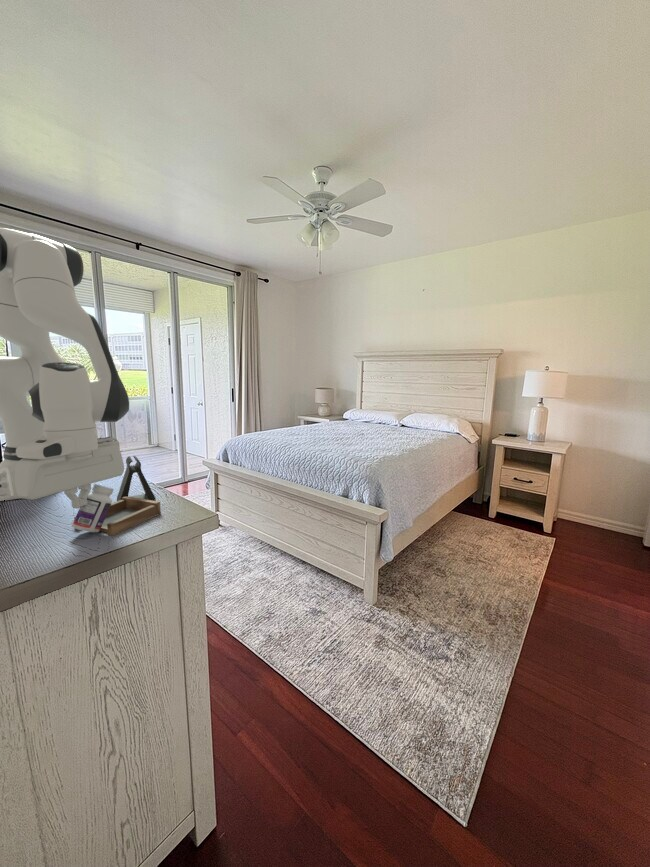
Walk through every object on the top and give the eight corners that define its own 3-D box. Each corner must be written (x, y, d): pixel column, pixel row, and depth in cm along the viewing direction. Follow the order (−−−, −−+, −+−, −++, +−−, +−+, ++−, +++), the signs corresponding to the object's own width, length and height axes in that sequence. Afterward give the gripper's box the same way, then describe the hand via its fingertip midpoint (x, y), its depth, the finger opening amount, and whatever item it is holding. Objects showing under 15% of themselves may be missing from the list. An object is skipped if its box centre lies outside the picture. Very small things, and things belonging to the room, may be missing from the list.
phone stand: (118, 506, 94) (114, 462, 93) (116, 499, 99) (113, 457, 97) (155, 499, 99) (152, 458, 97) (152, 493, 104) (149, 453, 102)
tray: (75, 527, 81) (73, 515, 81) (126, 507, 94) (125, 496, 93) (112, 535, 77) (110, 522, 77) (160, 513, 90) (159, 501, 90)
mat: (87, 525, 82) (87, 524, 82) (126, 509, 92) (126, 508, 92) (114, 531, 80) (114, 530, 79) (152, 514, 89) (152, 513, 89)
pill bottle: (91, 529, 81) (109, 487, 84) (103, 534, 78) (122, 491, 81) (66, 524, 77) (86, 481, 79) (78, 530, 74) (98, 485, 76)
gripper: (108, 434, 84) (114, 491, 86) (5, 450, 65) (15, 522, 67) (127, 435, 82) (133, 493, 84) (26, 452, 63) (37, 526, 65)
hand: (80, 506), depth 75 cm, fingers closed
